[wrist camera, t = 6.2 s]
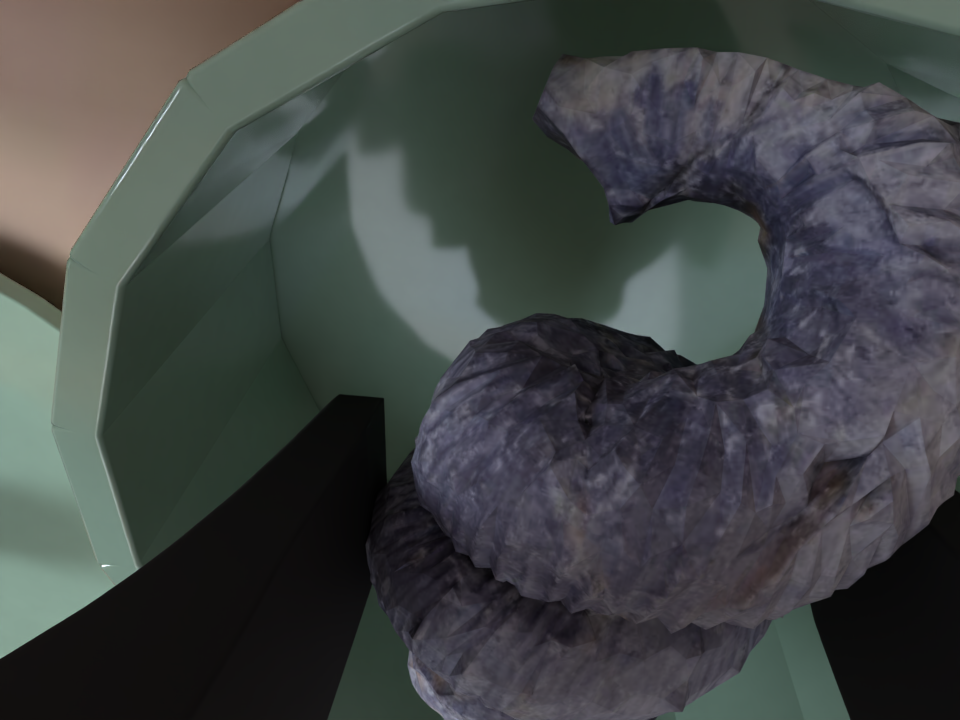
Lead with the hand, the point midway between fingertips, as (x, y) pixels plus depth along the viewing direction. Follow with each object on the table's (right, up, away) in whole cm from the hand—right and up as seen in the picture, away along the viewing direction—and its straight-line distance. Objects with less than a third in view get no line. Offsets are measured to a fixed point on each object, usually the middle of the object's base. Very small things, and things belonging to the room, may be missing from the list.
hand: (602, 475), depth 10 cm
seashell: (0, +1, +1) cm, 2 cm away
